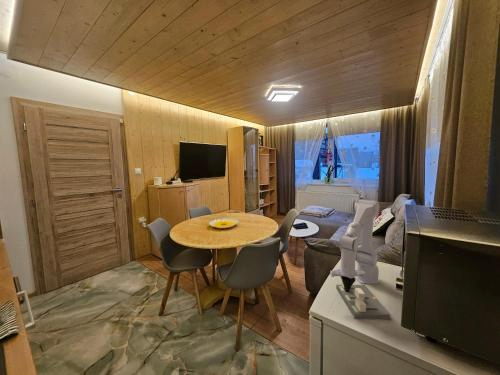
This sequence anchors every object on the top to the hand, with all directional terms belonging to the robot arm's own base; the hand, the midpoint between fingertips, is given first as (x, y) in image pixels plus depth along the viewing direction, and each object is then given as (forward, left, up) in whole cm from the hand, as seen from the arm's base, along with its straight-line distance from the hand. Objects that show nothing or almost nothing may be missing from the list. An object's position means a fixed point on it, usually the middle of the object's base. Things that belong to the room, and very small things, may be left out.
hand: (346, 291), depth 93 cm
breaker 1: (-3, -7, -3) cm, 8 cm away
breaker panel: (-6, 0, -6) cm, 8 cm away
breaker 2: (-3, +7, -3) cm, 8 cm away
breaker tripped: (-6, 0, -3) cm, 7 cm away
